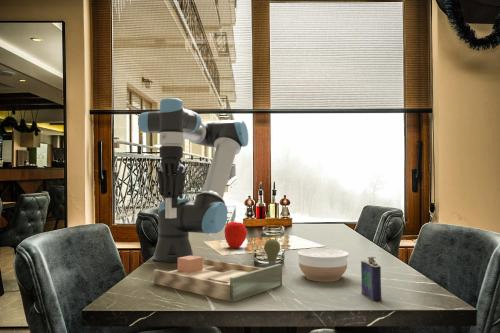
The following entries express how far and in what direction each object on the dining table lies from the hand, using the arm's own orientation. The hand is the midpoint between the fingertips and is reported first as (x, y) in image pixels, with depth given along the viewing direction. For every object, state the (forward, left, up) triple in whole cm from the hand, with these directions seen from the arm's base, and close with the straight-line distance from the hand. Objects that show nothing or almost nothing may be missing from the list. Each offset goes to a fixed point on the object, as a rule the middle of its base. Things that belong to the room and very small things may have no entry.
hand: (170, 217), depth 141 cm
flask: (+62, +15, -19) cm, 66 cm away
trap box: (+20, 0, -18) cm, 27 cm away
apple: (-18, +54, -19) cm, 60 cm away
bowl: (+41, +27, -19) cm, 53 cm away
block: (+9, 0, -16) cm, 18 cm away
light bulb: (+20, +29, -19) cm, 40 cm away
